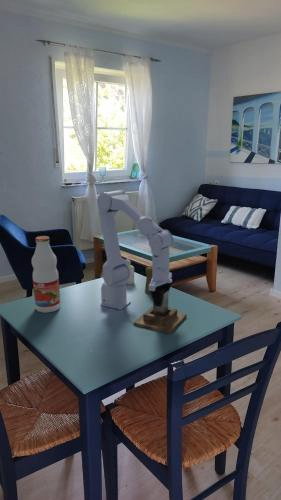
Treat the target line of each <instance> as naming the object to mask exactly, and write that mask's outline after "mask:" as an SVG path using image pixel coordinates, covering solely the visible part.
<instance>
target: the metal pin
mask: <svg viewBox="0 0 281 500" xmlns="http://www.w3.org/2000/svg"><path fill="white" fill-rule="evenodd" d="M169 292H170V290H165V291H164V293H163V296H162V303H161V306H160V307H159V306H155V304H154V301H153V300H152V307H153V313H154V314H158V315H163V316H164V315H165V314H166V313H167V312H168V308H169Z"/></svg>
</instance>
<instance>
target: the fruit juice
mask: <svg viewBox="0 0 281 500" xmlns="http://www.w3.org/2000/svg"><path fill="white" fill-rule="evenodd" d="M35 243H36V245H35V251H34V253H33V255H32V257H31V265H32V268H33V269H32V270H33V271H32V285H33V296H34V297H33V298H34V305H35V309H36V311H37V312H39V313H45V314H46V313H52V312H56V311H58V310H59V309H60V308H61V291H60V280H59V279H60V278H59V271H58V269H57V263H58V259H57V256H56V254H55V253H54V252H53V250H52V247H51V245H50V237H49V236H47V235H39V236H37V237H35Z"/></svg>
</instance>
